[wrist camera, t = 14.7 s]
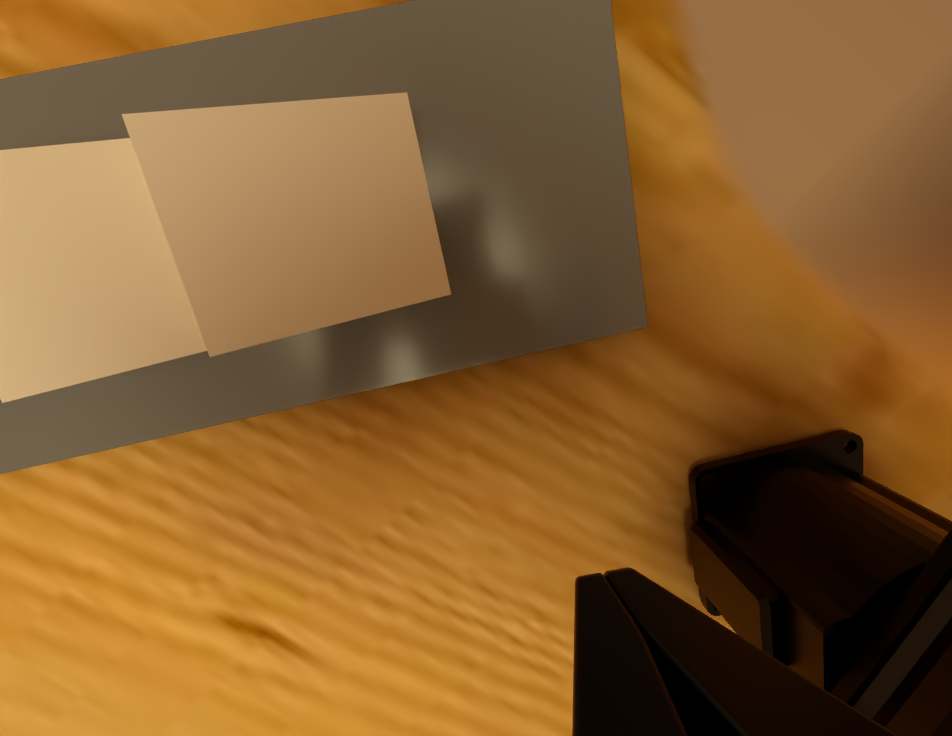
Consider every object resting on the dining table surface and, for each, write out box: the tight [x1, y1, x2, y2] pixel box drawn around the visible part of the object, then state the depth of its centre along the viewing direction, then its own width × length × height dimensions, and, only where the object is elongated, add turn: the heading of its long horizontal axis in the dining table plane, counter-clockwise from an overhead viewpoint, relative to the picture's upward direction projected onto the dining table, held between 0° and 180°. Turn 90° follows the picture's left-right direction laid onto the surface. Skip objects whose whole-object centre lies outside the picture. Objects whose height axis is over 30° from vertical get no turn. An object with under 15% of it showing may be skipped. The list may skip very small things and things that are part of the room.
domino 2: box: [122, 92, 451, 357], centre depth 12 cm, size 2×5×6 cm
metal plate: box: [0, 0, 648, 474], centre depth 14 cm, size 31×10×1 cm, turn 102°
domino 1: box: [0, 138, 207, 403], centre depth 12 cm, size 2×5×6 cm
